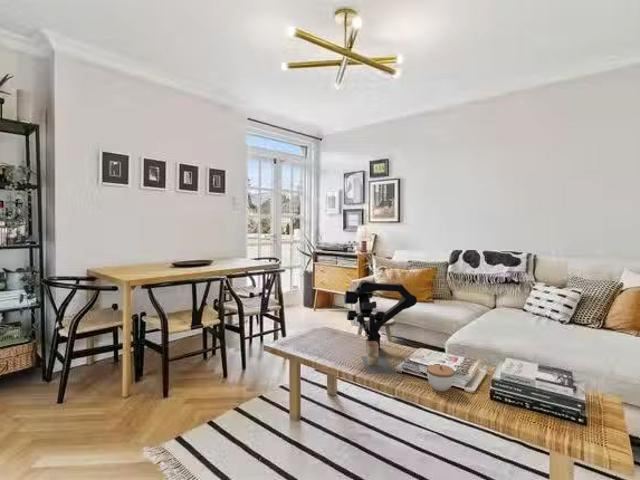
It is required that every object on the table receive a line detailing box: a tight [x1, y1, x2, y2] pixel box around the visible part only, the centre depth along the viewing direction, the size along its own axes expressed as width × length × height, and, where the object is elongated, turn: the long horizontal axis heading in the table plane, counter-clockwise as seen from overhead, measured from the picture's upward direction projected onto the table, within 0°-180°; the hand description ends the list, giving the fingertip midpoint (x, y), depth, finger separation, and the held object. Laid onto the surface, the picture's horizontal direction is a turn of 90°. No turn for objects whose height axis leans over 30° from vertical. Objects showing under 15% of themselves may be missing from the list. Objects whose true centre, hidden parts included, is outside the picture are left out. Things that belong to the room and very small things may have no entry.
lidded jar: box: [426, 364, 456, 392], centre depth 150 cm, size 11×11×9 cm
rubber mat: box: [360, 355, 396, 375], centre depth 173 cm, size 12×20×1 cm, turn 4°
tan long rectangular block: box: [366, 341, 379, 365], centre depth 174 cm, size 4×4×10 cm
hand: (367, 331), depth 181 cm, fingers closed
